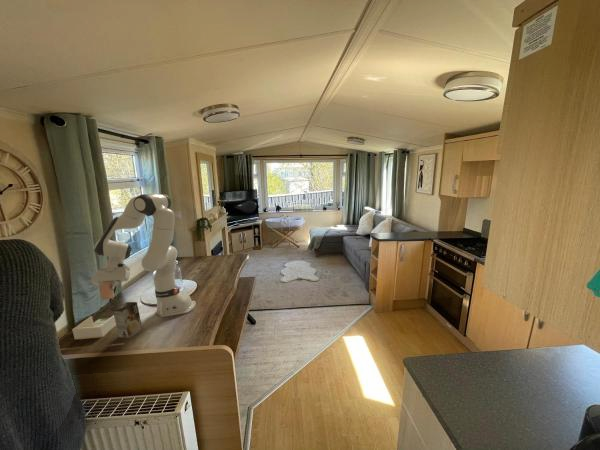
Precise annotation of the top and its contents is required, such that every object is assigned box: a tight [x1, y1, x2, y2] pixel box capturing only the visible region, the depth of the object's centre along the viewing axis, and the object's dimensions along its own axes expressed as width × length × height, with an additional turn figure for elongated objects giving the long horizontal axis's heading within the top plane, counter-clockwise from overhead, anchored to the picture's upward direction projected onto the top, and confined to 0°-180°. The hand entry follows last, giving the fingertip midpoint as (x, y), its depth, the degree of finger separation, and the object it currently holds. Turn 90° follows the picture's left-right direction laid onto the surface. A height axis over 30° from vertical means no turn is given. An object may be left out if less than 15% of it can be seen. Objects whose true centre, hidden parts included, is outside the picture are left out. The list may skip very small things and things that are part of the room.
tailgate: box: [93, 317, 110, 324], centre depth 152 cm, size 14×1×5 cm
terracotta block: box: [98, 282, 116, 301], centre depth 155 cm, size 4×4×9 cm
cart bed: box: [71, 314, 117, 340], centre depth 142 cm, size 14×13×6 cm
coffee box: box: [112, 301, 143, 340], centre depth 138 cm, size 9×6×16 cm
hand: (106, 289), depth 155 cm, fingers closed on terracotta block, 4 cm apart
